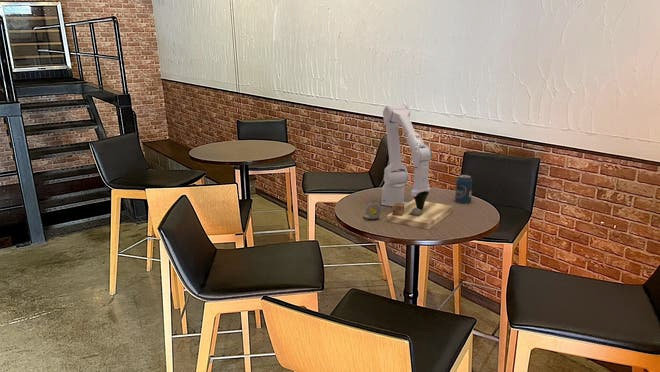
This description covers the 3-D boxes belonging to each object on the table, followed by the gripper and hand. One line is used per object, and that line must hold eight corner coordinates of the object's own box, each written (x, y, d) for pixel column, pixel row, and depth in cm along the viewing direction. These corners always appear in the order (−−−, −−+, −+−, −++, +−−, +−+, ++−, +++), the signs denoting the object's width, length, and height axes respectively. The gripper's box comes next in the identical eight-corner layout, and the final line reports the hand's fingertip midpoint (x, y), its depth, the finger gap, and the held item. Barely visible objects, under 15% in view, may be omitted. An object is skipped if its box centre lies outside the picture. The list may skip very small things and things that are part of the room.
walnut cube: (392, 215, 203) (392, 205, 202) (394, 212, 207) (394, 202, 206) (402, 216, 202) (402, 206, 201) (403, 212, 205) (404, 203, 204)
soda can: (452, 202, 228) (453, 176, 224) (459, 198, 233) (461, 173, 229) (466, 204, 223) (468, 178, 220) (473, 201, 228) (475, 175, 225)
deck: (386, 221, 203) (387, 215, 203) (413, 204, 224) (413, 199, 223) (428, 229, 194) (428, 223, 193) (452, 211, 215) (452, 205, 214)
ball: (410, 216, 205) (409, 211, 202) (414, 210, 207) (413, 205, 204) (418, 219, 203) (417, 214, 201) (422, 213, 205) (421, 207, 202)
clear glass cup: (370, 213, 213) (370, 191, 210) (385, 218, 207) (386, 195, 204) (357, 218, 207) (357, 195, 204) (372, 223, 201) (373, 199, 199)
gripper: (423, 182, 195) (422, 215, 199) (437, 174, 207) (435, 205, 210) (406, 179, 199) (405, 212, 202) (421, 172, 211) (420, 203, 214)
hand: (419, 209), depth 207 cm, fingers closed
